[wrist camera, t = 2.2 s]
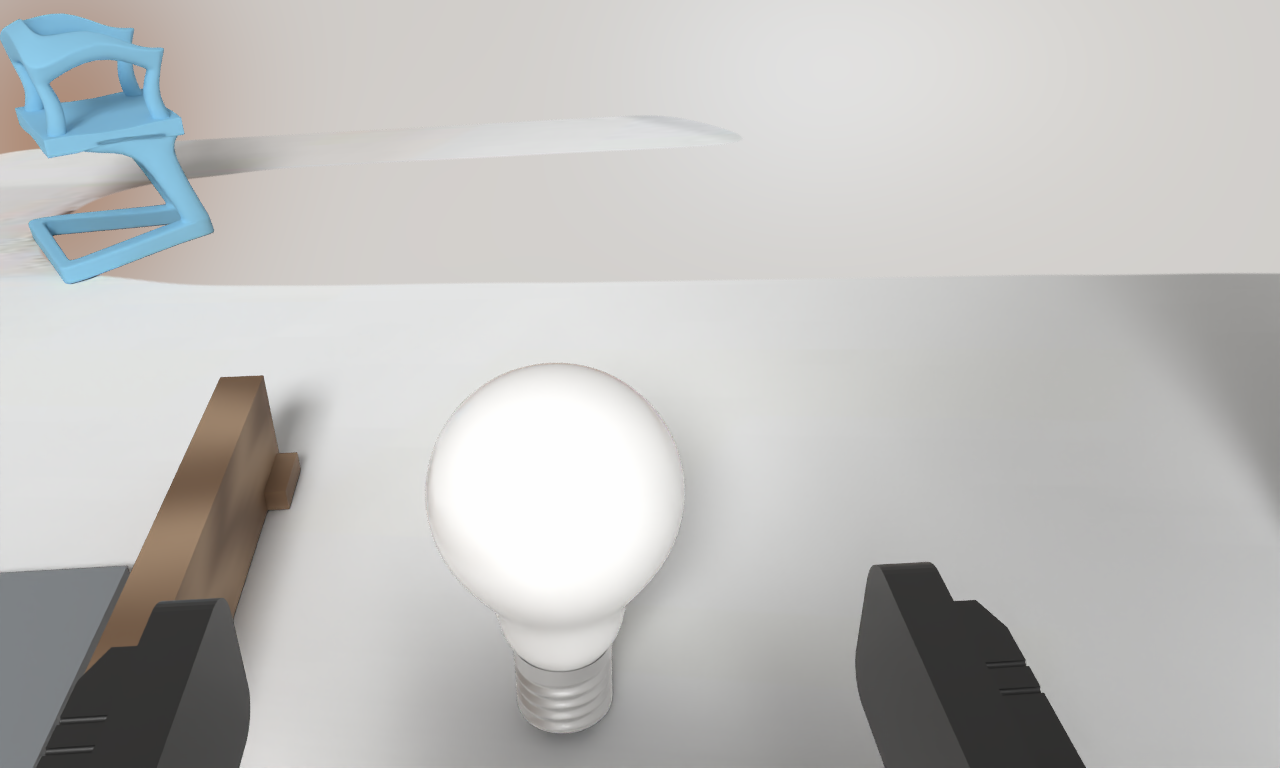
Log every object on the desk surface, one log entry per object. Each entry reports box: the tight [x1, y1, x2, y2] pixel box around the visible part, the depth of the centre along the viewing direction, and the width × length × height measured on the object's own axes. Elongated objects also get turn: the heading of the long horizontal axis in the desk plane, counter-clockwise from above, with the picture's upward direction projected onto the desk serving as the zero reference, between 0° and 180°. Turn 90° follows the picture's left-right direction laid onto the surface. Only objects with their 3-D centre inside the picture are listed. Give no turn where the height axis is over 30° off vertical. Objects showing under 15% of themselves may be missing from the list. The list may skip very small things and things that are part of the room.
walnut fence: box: [84, 376, 301, 674], centre depth 29 cm, size 26×3×4 cm, turn 6°
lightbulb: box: [425, 363, 685, 734], centre depth 28 cm, size 6×6×11 cm
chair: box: [0, 14, 214, 284], centre depth 56 cm, size 8×8×12 cm
